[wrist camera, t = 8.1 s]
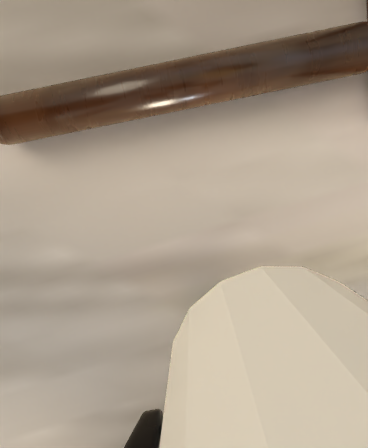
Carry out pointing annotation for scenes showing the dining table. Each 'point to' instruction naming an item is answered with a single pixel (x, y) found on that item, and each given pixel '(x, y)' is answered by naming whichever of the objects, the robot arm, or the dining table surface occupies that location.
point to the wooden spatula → (184, 83)
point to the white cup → (270, 365)
